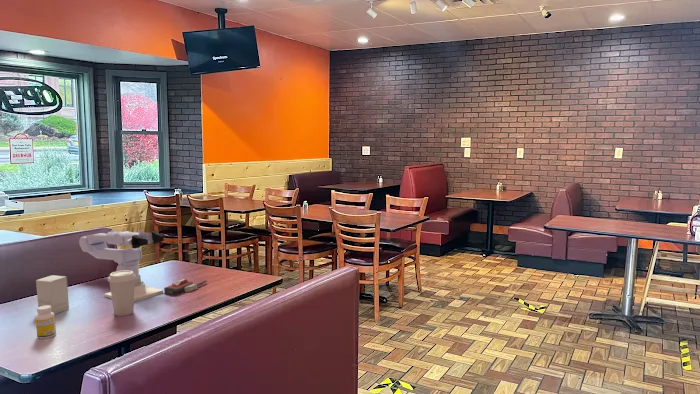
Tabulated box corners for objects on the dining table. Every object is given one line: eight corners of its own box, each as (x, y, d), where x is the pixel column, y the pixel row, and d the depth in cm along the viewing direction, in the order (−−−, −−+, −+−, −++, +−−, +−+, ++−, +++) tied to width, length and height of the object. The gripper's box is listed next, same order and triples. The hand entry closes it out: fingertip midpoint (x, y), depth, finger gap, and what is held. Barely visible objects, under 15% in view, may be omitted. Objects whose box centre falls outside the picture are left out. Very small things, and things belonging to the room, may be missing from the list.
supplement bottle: (42, 333, 170) (40, 304, 169) (59, 332, 170) (57, 304, 169) (33, 339, 164) (31, 310, 163) (51, 339, 165) (48, 309, 164)
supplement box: (69, 308, 194) (67, 276, 192) (52, 315, 187) (50, 281, 185) (55, 306, 196) (52, 274, 195) (37, 313, 189) (35, 279, 188)
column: (126, 292, 210) (125, 276, 209) (135, 289, 213) (134, 274, 212) (132, 293, 207) (131, 277, 207) (141, 291, 211) (140, 275, 210)
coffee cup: (110, 318, 183) (107, 278, 181) (109, 310, 191) (106, 271, 189) (139, 314, 187) (137, 274, 185) (136, 306, 196) (134, 268, 194)
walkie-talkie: (178, 297, 208) (208, 284, 226) (178, 287, 207) (208, 274, 226) (161, 295, 211) (192, 282, 229) (160, 285, 210) (191, 272, 229)
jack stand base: (104, 296, 208) (103, 286, 208) (139, 286, 221) (139, 276, 221) (128, 303, 199) (127, 292, 199) (163, 293, 213) (162, 282, 212)
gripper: (119, 232, 215) (138, 233, 207) (149, 227, 227) (168, 227, 219) (120, 249, 215) (140, 251, 208) (150, 242, 227) (170, 244, 220)
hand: (155, 240), depth 214 cm, fingers open, 7 cm apart
